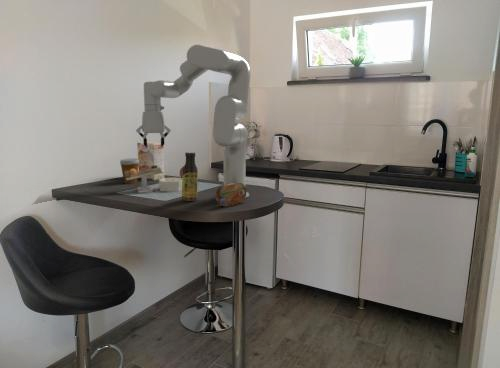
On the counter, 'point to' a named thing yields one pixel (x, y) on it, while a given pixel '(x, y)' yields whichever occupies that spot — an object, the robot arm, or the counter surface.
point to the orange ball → (132, 171)
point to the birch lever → (143, 172)
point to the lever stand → (144, 185)
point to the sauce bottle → (189, 178)
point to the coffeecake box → (151, 158)
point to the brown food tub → (127, 165)
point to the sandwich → (230, 194)
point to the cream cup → (170, 184)
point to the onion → (182, 171)
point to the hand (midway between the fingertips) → (154, 146)
